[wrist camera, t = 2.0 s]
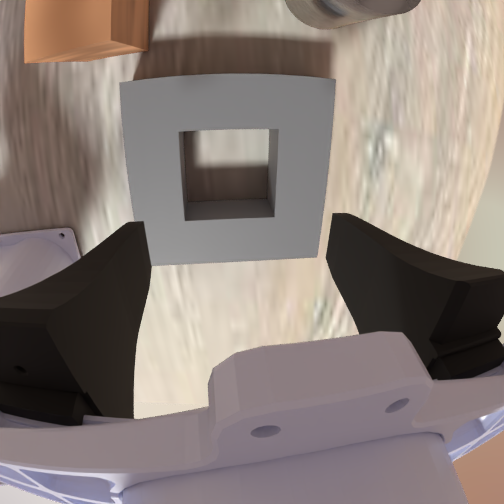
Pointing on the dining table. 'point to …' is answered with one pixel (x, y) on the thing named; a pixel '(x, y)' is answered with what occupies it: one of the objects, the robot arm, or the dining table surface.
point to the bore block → (228, 211)
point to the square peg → (84, 29)
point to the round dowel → (346, 11)
